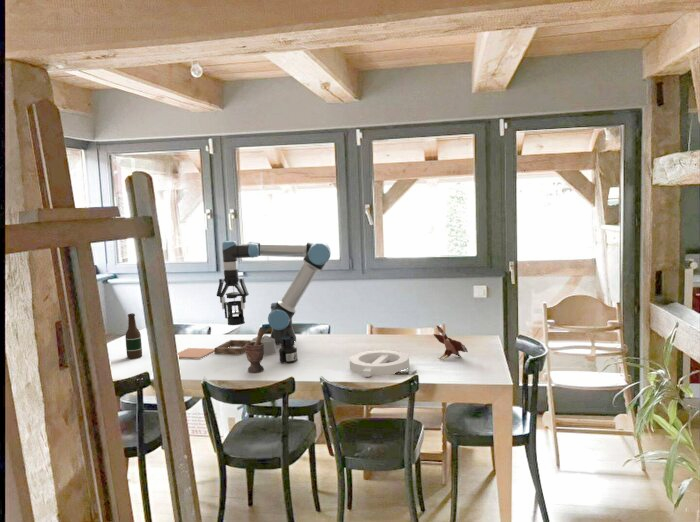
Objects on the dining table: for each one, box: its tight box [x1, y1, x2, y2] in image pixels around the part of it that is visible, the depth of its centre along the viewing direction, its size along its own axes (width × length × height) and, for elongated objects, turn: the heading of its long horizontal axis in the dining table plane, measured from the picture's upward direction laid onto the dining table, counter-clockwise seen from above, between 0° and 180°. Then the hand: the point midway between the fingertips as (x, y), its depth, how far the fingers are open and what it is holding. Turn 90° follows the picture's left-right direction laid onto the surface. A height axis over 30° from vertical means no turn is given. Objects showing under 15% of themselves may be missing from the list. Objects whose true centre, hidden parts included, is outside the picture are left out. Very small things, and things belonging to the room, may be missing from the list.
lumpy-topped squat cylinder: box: [250, 334, 277, 356], centre depth 304 cm, size 10×13×9 cm
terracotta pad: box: [177, 347, 215, 360], centre depth 308 cm, size 18×18×1 cm
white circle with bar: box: [348, 349, 410, 378], centre depth 267 cm, size 28×28×5 cm
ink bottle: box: [278, 336, 298, 364], centre depth 284 cm, size 10×9×12 cm
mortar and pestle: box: [245, 326, 266, 374], centre depth 271 cm, size 12×9×20 cm
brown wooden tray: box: [214, 339, 252, 355], centre depth 314 cm, size 16×19×3 cm
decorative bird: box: [433, 325, 468, 361], centre depth 275 cm, size 28×18×15 cm, turn 22°
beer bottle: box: [125, 313, 143, 360], centre depth 306 cm, size 8×8×24 cm
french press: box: [223, 283, 246, 326], centre depth 312 cm, size 12×9×23 cm
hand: (233, 308), depth 312 cm, fingers closed on french press, 11 cm apart
